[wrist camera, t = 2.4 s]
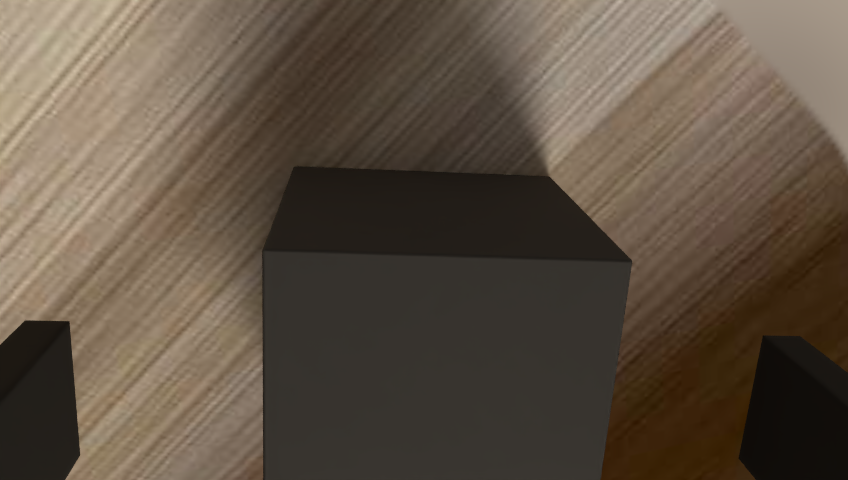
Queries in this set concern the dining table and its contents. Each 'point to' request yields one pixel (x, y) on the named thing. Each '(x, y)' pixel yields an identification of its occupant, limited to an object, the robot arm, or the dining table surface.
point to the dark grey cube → (437, 329)
